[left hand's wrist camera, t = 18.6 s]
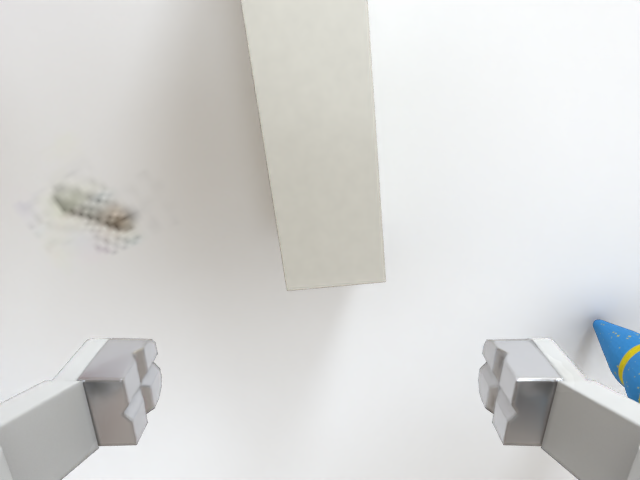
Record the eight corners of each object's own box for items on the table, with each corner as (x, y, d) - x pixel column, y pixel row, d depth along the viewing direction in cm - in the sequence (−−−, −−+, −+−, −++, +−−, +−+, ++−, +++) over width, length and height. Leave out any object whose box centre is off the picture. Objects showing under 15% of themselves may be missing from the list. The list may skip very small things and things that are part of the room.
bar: (371, 227, 32) (386, 282, 24) (297, 235, 32) (286, 291, 24) (336, -238, 22) (340, -411, 14) (233, -220, 23) (179, -381, 15)
